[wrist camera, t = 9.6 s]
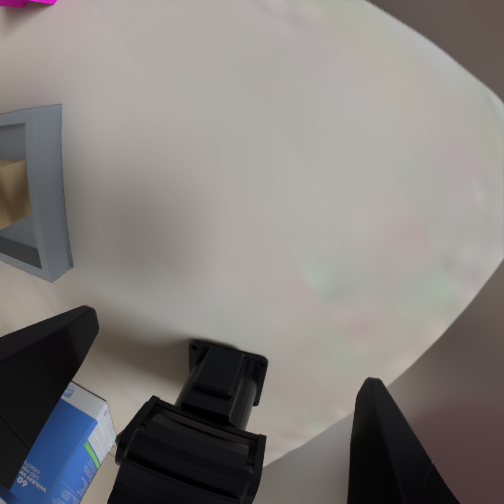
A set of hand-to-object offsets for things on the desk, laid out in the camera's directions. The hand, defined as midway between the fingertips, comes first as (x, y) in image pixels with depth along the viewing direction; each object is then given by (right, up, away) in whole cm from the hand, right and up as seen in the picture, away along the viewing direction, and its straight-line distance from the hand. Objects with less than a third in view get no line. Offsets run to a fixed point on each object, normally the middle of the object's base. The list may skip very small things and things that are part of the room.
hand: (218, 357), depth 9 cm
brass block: (-21, +9, +13) cm, 26 cm away
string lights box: (-23, -21, +28) cm, 42 cm away
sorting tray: (-21, +9, +13) cm, 26 cm away
